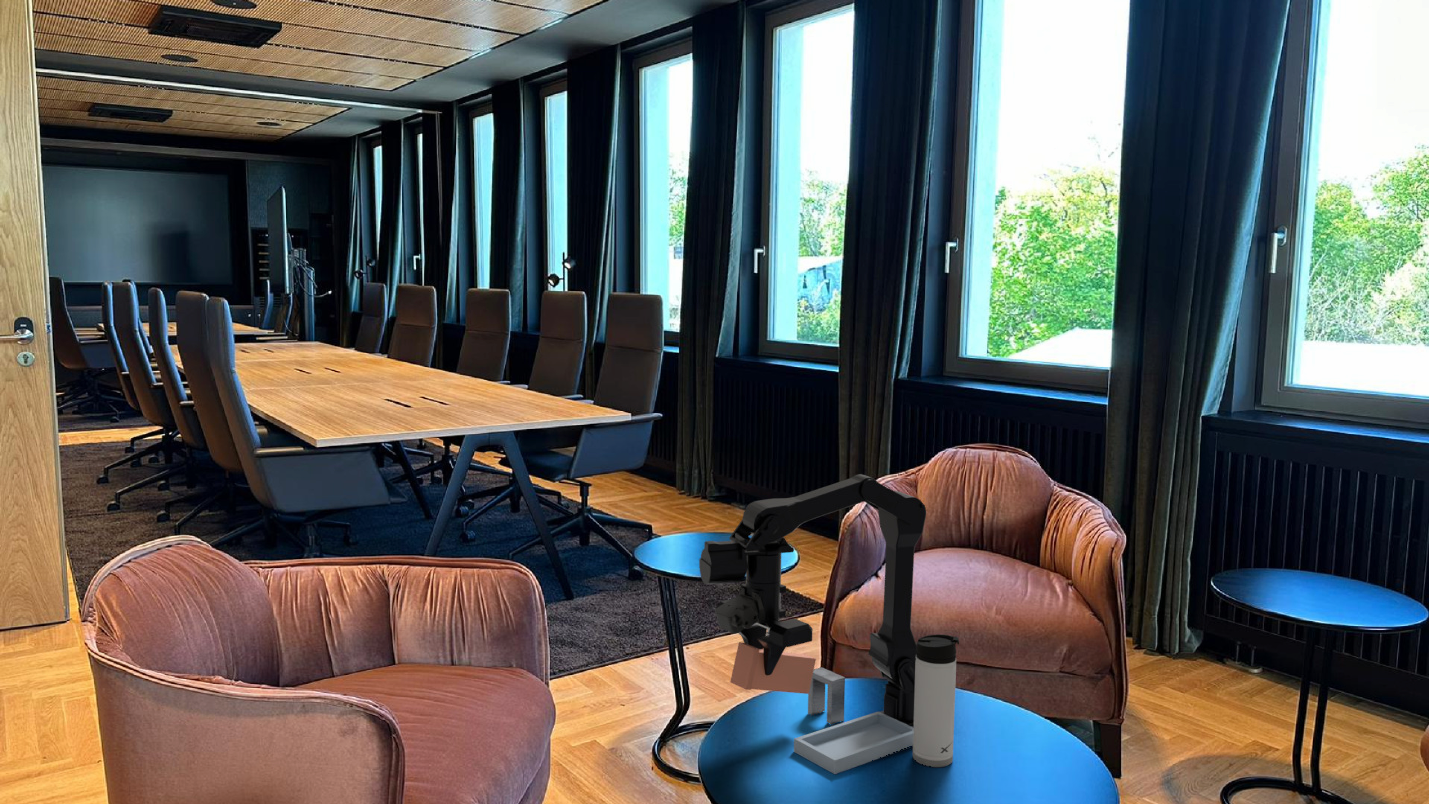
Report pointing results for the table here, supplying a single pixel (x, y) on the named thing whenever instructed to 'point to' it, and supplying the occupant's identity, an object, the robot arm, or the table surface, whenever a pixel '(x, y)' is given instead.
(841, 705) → the bracket
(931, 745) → the travel mug
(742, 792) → the table surface
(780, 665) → the pink curved block
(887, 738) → the tray
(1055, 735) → the table surface
